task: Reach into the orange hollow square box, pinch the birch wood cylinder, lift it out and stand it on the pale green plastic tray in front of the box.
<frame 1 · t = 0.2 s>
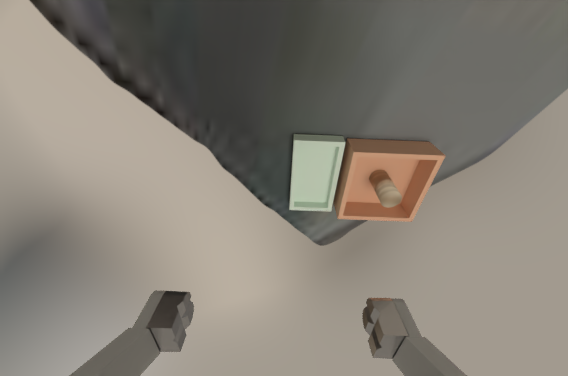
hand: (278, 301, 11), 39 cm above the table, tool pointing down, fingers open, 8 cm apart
orange hollow square box: (376, 174, 52), on the table
birch cylinder: (378, 177, 51), point 1 cm above the table, touching orange hollow square box
green tray: (313, 172, 52), on the table
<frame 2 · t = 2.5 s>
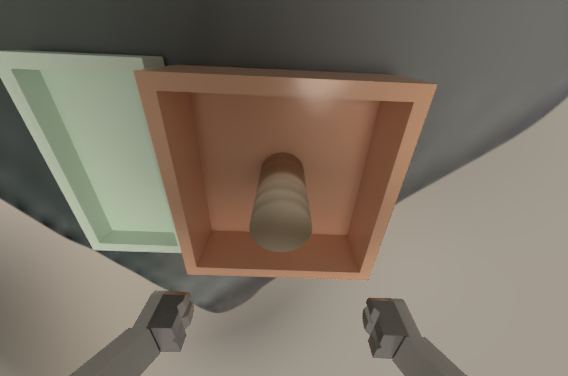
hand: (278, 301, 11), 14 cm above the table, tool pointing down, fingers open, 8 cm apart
orange hollow square box: (282, 167, 22), on the table
birch cylinder: (282, 172, 21), point 1 cm above the table, touching orange hollow square box
green tray: (132, 161, 22), on the table
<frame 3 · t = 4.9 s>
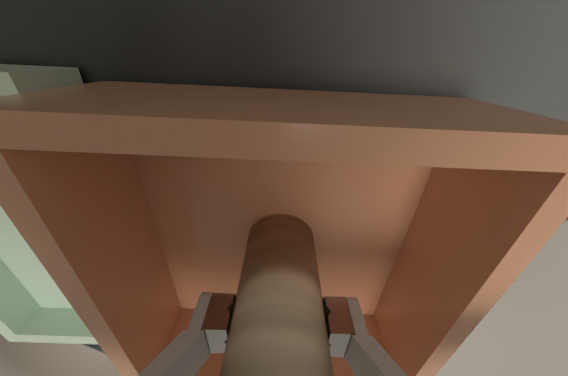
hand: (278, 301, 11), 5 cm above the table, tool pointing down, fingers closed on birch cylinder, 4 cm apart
orange hollow square box: (281, 229, 15), on the table
birch cylinder: (280, 240, 14), point 1 cm above the table, touching gripper, orange hollow square box
green tray: (57, 220, 15), on the table
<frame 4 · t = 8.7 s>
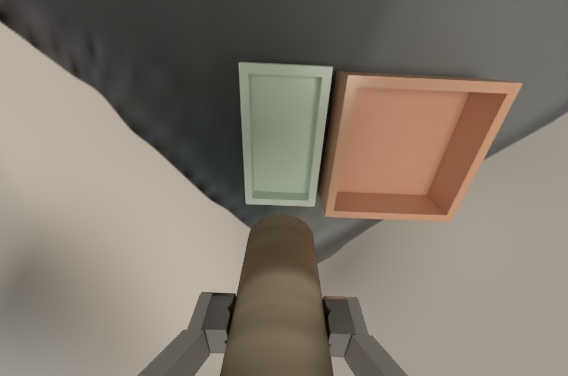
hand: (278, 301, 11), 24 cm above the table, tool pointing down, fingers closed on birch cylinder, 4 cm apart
orange hollow square box: (388, 143, 32), on the table
birch cylinder: (280, 240, 14), point 20 cm above the table, touching gripper
green tray: (282, 138, 31), on the table
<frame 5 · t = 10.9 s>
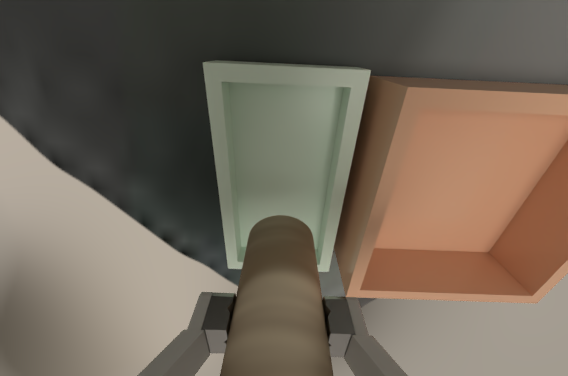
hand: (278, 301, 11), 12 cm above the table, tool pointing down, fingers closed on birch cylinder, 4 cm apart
orange hollow square box: (440, 182, 21), on the table
birch cylinder: (280, 241, 14), point 8 cm above the table, touching gripper
green tray: (282, 176, 21), on the table
when the fingers open (7 cm above the table, at t = 12.8 s): birch cylinder drops 1 cm, resting on green tray.
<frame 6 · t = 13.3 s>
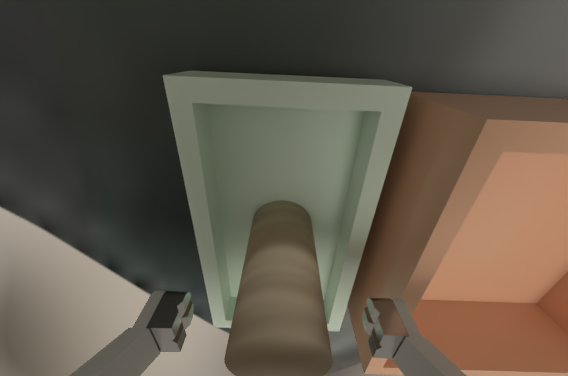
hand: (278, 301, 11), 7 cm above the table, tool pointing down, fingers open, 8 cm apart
orange hollow square box: (483, 223, 17), on the table
birch cylinder: (281, 225, 15), point 1 cm above the table, touching green tray
green tray: (281, 215, 16), on the table
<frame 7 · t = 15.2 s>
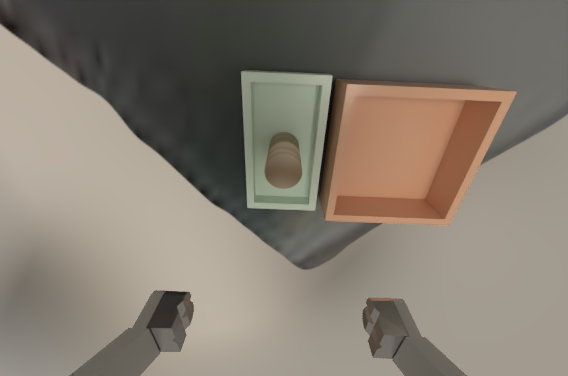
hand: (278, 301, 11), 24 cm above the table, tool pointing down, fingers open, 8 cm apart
orange hollow square box: (387, 148, 32), on the table
birch cylinder: (284, 146, 31), point 1 cm above the table, touching green tray
green tray: (283, 143, 32), on the table
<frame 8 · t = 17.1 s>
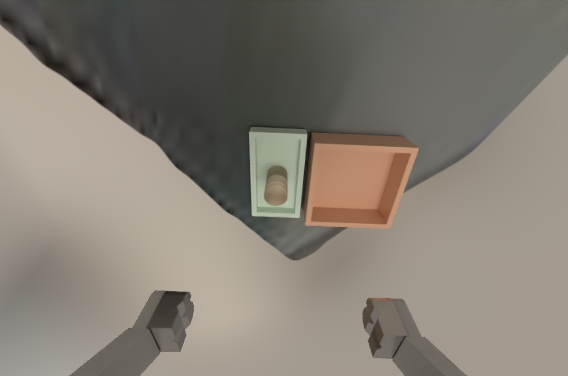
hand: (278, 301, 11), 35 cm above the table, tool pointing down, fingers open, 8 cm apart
orange hollow square box: (348, 175, 47), on the table
birch cylinder: (277, 174, 46), point 1 cm above the table, touching green tray
green tray: (277, 172, 46), on the table
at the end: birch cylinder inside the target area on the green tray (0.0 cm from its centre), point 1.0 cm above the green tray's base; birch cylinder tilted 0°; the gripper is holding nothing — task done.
